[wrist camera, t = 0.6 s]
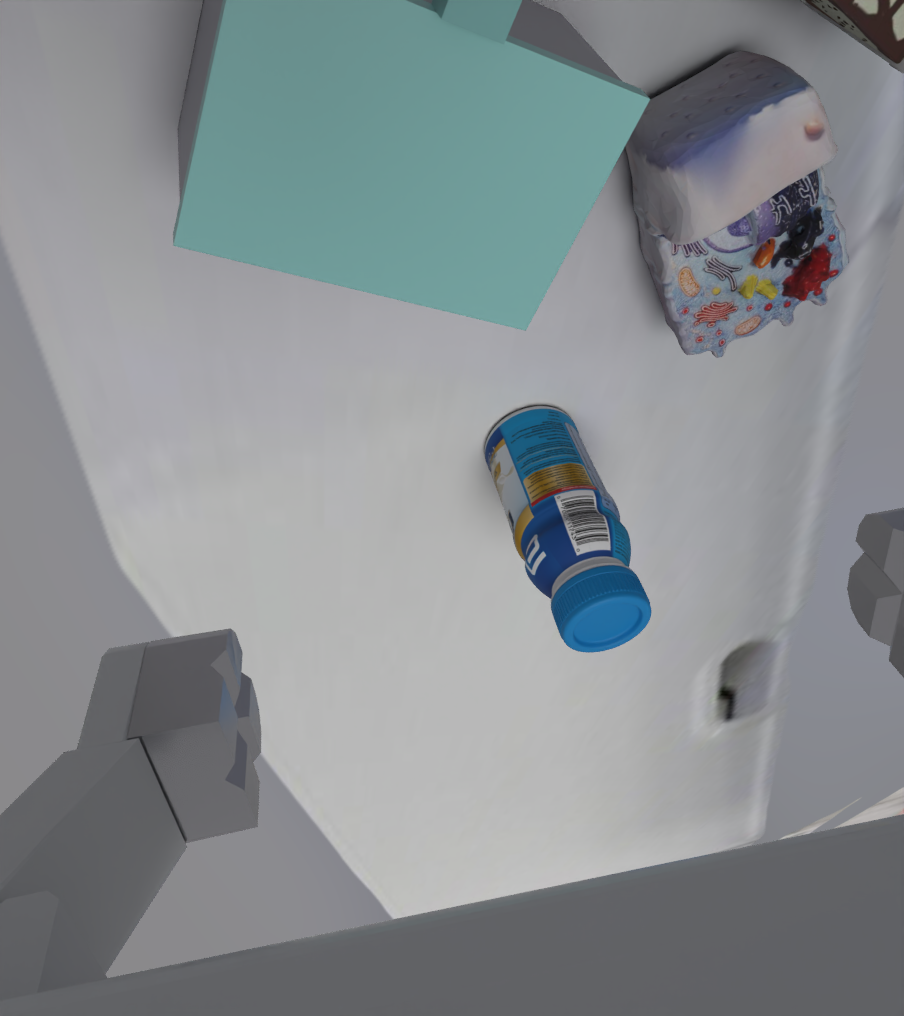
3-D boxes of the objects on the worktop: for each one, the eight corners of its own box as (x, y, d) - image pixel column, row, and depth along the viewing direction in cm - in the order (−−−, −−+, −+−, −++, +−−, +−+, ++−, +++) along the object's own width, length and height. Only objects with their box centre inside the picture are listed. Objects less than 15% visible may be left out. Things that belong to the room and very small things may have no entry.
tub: (229, -130, 42) (244, -64, 34) (560, 13, 50) (633, 93, 42) (177, 128, 50) (180, 229, 42) (470, 215, 58) (517, 313, 50)
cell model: (848, 70, 45) (896, 318, 59) (751, -1, 52) (815, 236, 66) (625, 215, 48) (722, 417, 62) (562, 129, 55) (663, 328, 69)
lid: (271, -231, 31) (276, -222, 29) (698, -20, 39) (717, -6, 38) (173, 232, 42) (173, 254, 41) (519, 318, 51) (529, 338, 49)
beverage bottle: (595, 427, 75) (687, 609, 62) (526, 487, 79) (600, 672, 66) (530, 385, 70) (616, 575, 57) (461, 452, 74) (527, 644, 60)
